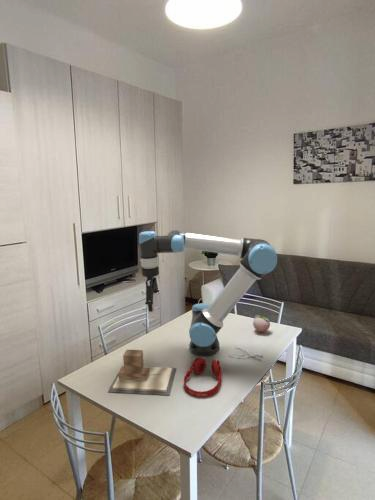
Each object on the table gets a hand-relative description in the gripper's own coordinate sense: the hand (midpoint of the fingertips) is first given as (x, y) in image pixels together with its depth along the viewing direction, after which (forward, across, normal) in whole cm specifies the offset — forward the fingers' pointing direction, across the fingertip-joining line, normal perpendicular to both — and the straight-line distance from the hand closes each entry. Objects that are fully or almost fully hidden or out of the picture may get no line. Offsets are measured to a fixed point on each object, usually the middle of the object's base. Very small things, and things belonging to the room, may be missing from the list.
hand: (153, 311), depth 150 cm
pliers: (+27, -6, +42) cm, 50 cm away
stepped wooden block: (+23, +15, -8) cm, 28 cm away
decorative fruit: (+27, -30, +53) cm, 67 cm away
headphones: (+26, +16, +21) cm, 37 cm away
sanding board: (+25, +15, -4) cm, 29 cm away
